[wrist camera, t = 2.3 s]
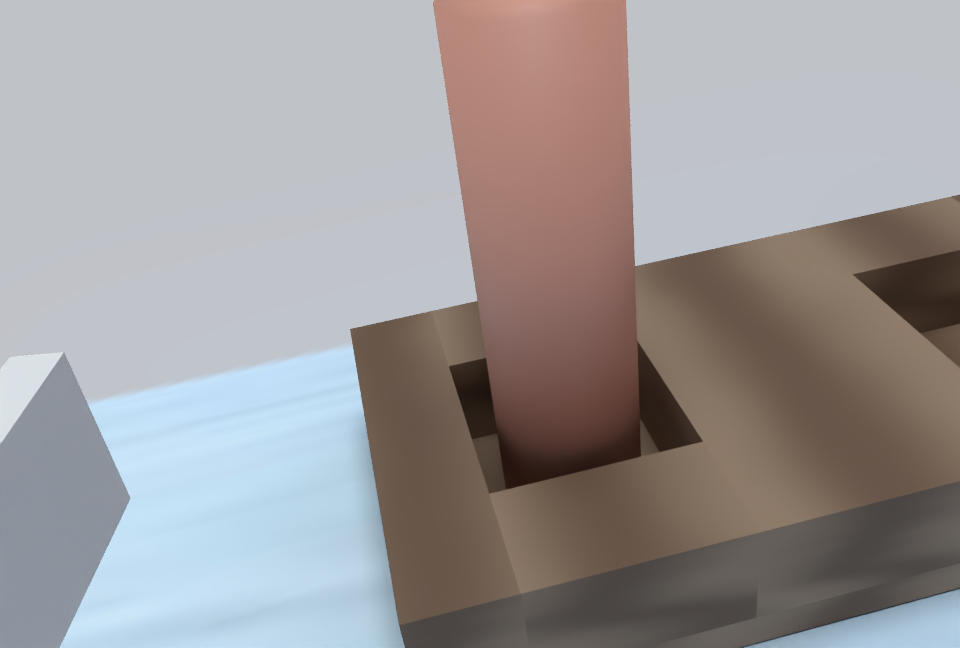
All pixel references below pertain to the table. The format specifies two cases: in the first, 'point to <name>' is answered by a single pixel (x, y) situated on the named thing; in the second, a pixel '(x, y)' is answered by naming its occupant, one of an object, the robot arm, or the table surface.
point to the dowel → (549, 223)
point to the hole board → (694, 454)
